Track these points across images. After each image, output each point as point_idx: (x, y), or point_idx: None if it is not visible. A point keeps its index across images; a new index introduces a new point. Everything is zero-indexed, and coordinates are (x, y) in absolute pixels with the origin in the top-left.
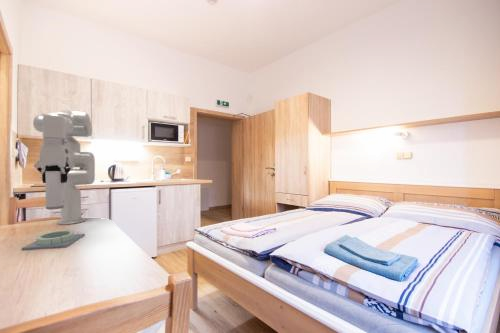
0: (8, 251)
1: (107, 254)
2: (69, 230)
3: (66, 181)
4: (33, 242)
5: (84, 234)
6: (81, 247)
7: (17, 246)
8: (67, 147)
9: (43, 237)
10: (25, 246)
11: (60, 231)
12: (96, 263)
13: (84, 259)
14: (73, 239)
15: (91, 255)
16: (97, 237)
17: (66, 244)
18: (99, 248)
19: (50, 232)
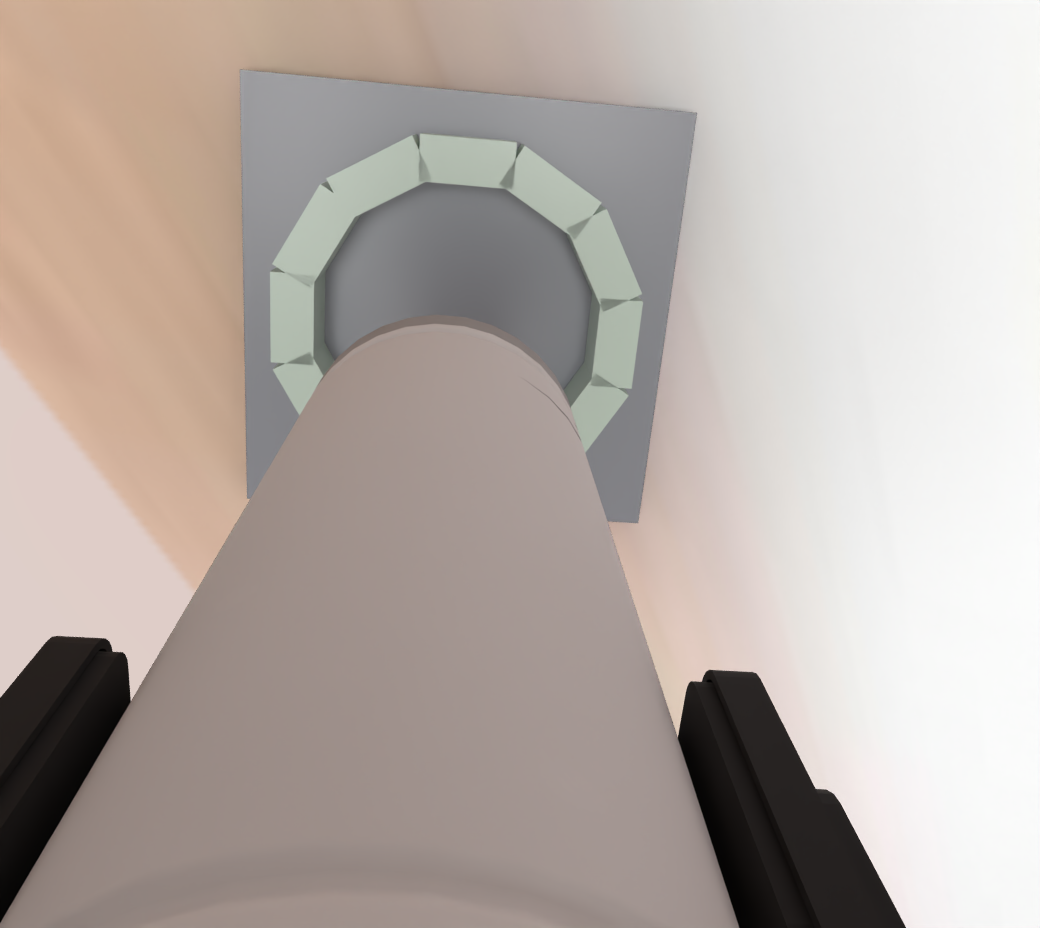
0: (144, 488)
1: (1007, 757)
2: (543, 168)
3: (756, 689)
4: (250, 342)
5: (693, 118)
6: (771, 547)
7: (118, 349)
8: None
9: (318, 307)
10: (254, 463)
11: (441, 182)
12: (952, 887)
13: (861, 809)
14: (642, 347)
15: (895, 749)
16: (858, 245)
17: (632, 505)
18: (931, 613)
19: (334, 204)
